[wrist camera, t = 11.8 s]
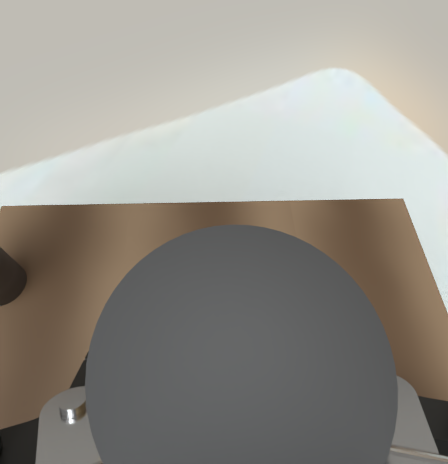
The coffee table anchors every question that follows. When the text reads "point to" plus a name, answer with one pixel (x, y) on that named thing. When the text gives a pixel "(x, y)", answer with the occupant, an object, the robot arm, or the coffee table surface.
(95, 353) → the banded grey cylinder
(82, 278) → the wooden gallows stand
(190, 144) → the coffee table surface
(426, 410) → the robot arm
